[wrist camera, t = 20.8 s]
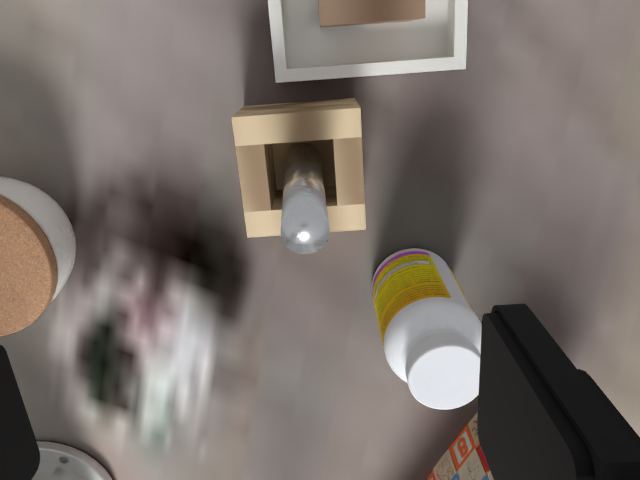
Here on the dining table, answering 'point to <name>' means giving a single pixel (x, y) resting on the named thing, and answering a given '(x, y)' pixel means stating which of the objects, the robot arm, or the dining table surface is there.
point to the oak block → (270, 152)
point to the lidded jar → (31, 253)
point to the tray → (365, 43)
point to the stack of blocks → (463, 458)
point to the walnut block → (368, 11)
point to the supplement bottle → (428, 328)
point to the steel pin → (304, 201)
